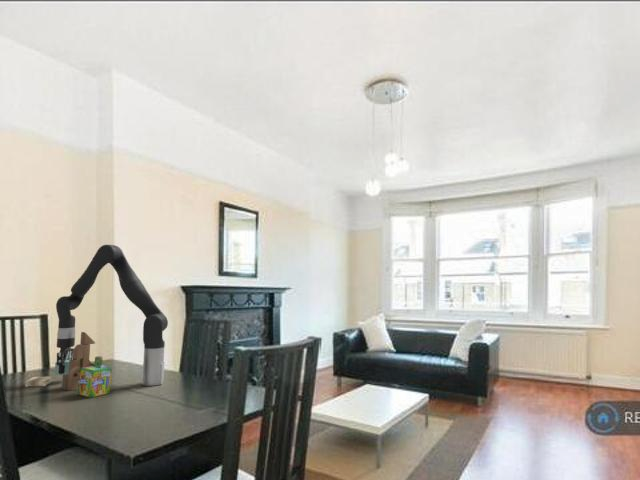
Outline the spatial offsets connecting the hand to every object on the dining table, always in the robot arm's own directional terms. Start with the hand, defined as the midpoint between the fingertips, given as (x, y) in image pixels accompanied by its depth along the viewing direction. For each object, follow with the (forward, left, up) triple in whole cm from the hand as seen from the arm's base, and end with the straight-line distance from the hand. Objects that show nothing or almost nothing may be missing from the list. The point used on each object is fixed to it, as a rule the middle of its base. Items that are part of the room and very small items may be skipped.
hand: (64, 372), depth 199 cm
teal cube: (0, 0, -1) cm, 1 cm away
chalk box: (-21, +25, -5) cm, 34 cm away
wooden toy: (-12, +10, -5) cm, 16 cm away
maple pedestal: (+9, +3, -5) cm, 11 cm away
